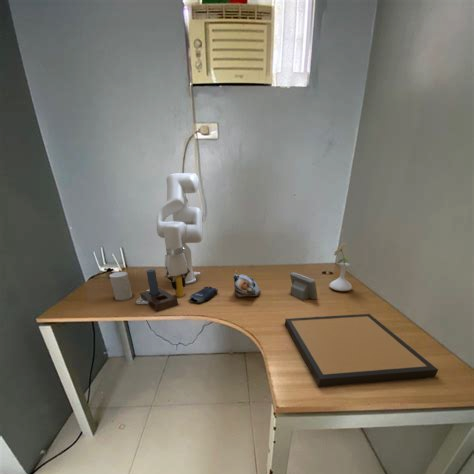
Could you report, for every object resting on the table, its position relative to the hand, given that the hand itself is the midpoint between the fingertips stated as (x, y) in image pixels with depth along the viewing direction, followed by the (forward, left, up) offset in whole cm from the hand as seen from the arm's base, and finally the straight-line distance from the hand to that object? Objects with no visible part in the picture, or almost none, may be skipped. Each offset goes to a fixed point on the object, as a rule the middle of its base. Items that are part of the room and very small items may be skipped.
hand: (178, 287), depth 129 cm
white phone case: (+13, -6, -3) cm, 15 cm away
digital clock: (-47, +42, -5) cm, 63 cm away
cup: (+23, -17, -5) cm, 29 cm away
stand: (+12, +1, -5) cm, 13 cm away
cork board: (-22, +80, -5) cm, 83 cm away
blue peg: (+12, -3, -5) cm, 13 cm away
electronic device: (-7, +11, -5) cm, 14 cm away
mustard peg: (0, 0, -5) cm, 5 cm away
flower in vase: (-68, +50, -5) cm, 85 cm away
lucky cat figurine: (-26, +23, -5) cm, 35 cm away
